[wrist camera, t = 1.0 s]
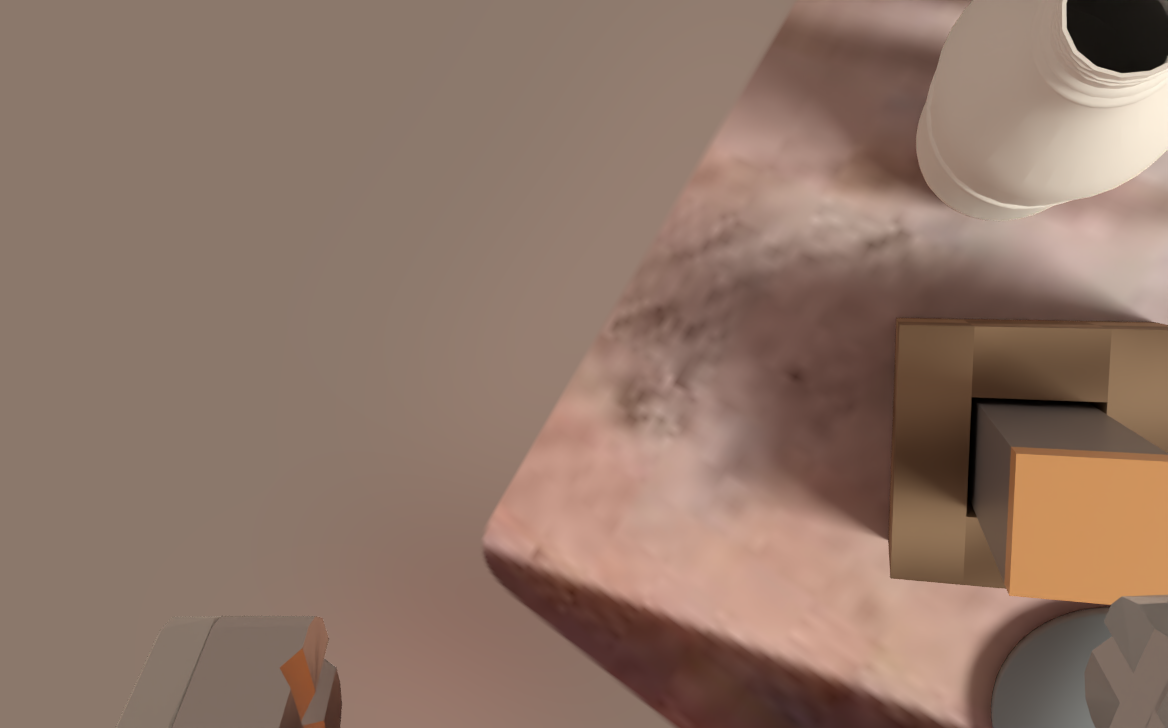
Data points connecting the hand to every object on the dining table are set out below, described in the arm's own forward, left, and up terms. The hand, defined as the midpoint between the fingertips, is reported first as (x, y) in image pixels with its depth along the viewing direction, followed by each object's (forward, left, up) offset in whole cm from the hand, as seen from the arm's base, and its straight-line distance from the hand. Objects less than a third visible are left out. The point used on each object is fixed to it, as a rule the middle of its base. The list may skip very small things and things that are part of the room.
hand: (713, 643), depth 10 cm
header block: (-1, +9, -39) cm, 40 cm away
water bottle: (-12, +1, -39) cm, 41 cm away
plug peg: (-1, +9, -38) cm, 39 cm away
